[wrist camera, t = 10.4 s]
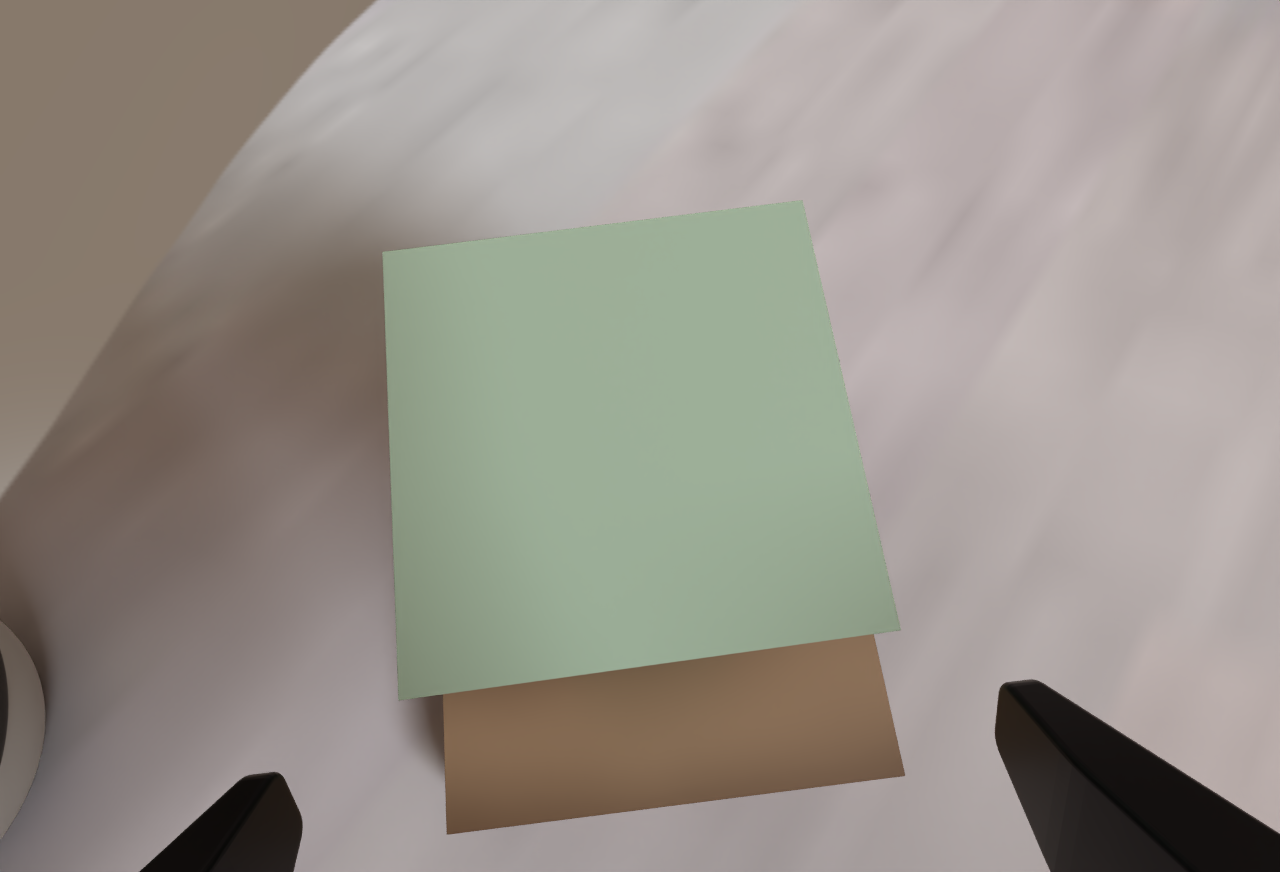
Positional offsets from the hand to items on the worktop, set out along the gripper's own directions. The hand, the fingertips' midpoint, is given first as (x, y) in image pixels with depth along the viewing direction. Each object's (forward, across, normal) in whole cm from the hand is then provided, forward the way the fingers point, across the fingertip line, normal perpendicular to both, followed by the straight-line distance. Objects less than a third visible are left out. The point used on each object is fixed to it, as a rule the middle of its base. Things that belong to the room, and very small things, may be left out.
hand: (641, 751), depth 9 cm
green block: (+9, 0, +4) cm, 10 cm away
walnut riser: (+12, 0, +6) cm, 14 cm away
